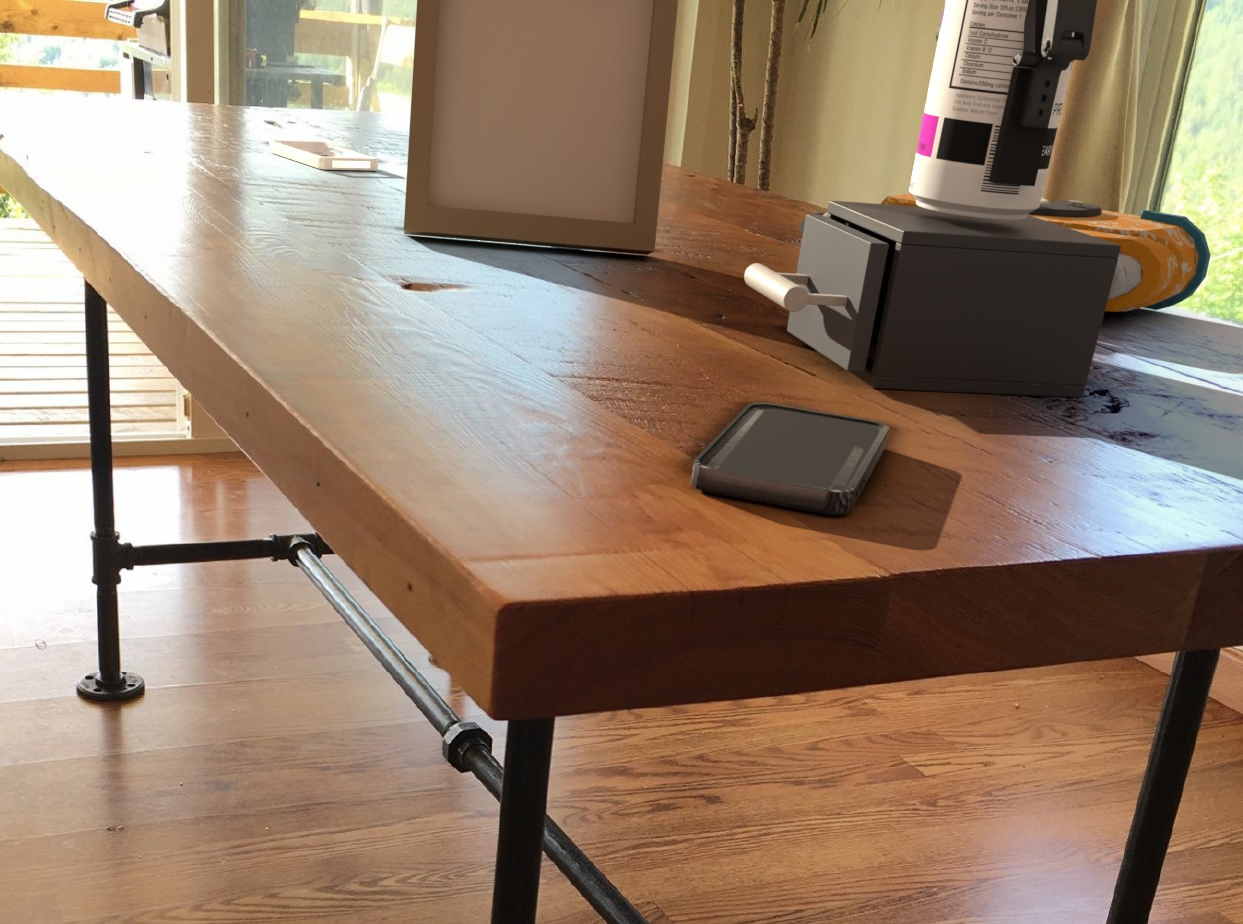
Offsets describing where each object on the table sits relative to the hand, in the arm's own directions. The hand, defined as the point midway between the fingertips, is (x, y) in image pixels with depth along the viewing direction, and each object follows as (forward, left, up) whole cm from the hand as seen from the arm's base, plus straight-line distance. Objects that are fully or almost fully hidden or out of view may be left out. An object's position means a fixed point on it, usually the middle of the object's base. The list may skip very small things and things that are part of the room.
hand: (979, 174), depth 97 cm
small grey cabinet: (0, 0, -13) cm, 13 cm away
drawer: (0, +4, -12) cm, 12 cm away
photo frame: (+45, +20, -13) cm, 51 cm away
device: (+29, -18, -13) cm, 36 cm away
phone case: (+93, +35, -13) cm, 100 cm away
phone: (-24, +19, -13) cm, 33 cm away
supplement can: (0, 0, -2) cm, 2 cm away
